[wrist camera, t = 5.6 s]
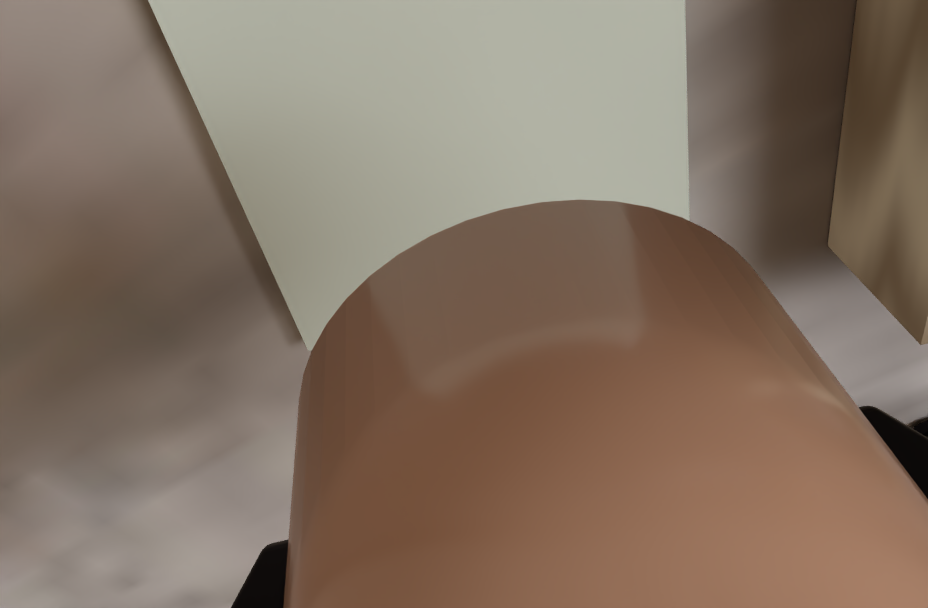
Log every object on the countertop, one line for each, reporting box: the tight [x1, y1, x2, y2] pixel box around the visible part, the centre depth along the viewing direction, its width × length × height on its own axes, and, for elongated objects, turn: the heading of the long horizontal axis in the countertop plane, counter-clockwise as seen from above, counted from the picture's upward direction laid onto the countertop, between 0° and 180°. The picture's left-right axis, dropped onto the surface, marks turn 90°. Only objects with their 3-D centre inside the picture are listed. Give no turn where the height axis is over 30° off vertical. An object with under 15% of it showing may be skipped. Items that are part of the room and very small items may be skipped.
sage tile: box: [148, 0, 690, 351], centre depth 18 cm, size 11×11×1 cm
